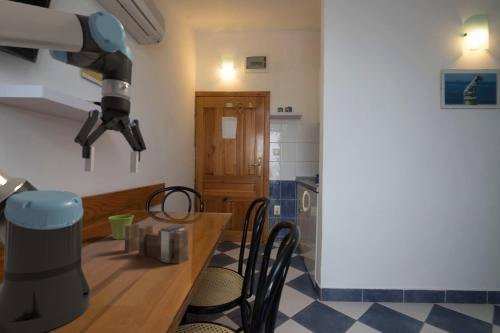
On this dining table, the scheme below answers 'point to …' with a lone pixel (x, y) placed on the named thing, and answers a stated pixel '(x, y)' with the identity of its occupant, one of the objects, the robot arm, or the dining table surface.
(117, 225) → the plant pot
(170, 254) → the bracket plate
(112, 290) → the dining table surface
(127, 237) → the brown long notched block
